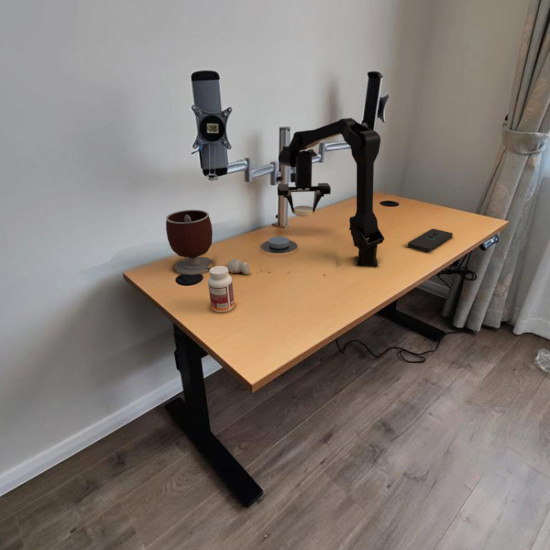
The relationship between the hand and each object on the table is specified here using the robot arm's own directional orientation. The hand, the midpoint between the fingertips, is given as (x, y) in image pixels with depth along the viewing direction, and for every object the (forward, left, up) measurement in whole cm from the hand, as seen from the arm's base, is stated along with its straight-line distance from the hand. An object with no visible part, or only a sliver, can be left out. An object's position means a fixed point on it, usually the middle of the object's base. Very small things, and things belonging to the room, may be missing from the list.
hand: (303, 212), depth 135 cm
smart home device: (+1, -46, -10) cm, 47 cm away
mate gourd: (-29, +33, -10) cm, 45 cm away
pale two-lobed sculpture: (-31, +18, -10) cm, 37 cm away
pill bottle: (-51, +17, -10) cm, 55 cm away
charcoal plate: (-11, +8, -10) cm, 17 cm away
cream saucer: (0, 0, -1) cm, 1 cm away
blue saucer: (-11, +8, -9) cm, 16 cm away
